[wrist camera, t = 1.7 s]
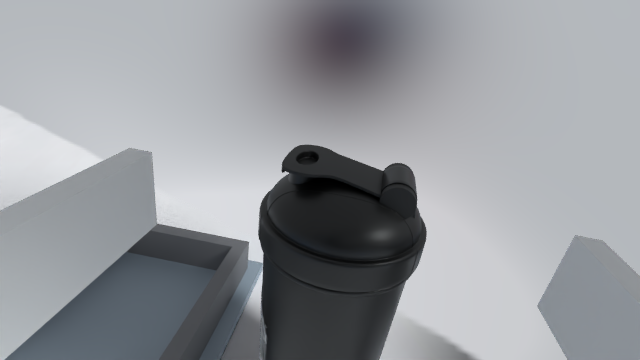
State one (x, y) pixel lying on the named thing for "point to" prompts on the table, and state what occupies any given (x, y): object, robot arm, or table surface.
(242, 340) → the table surface
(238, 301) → the walled base tray
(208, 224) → the table surface
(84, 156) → the table surface
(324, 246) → the water bottle
